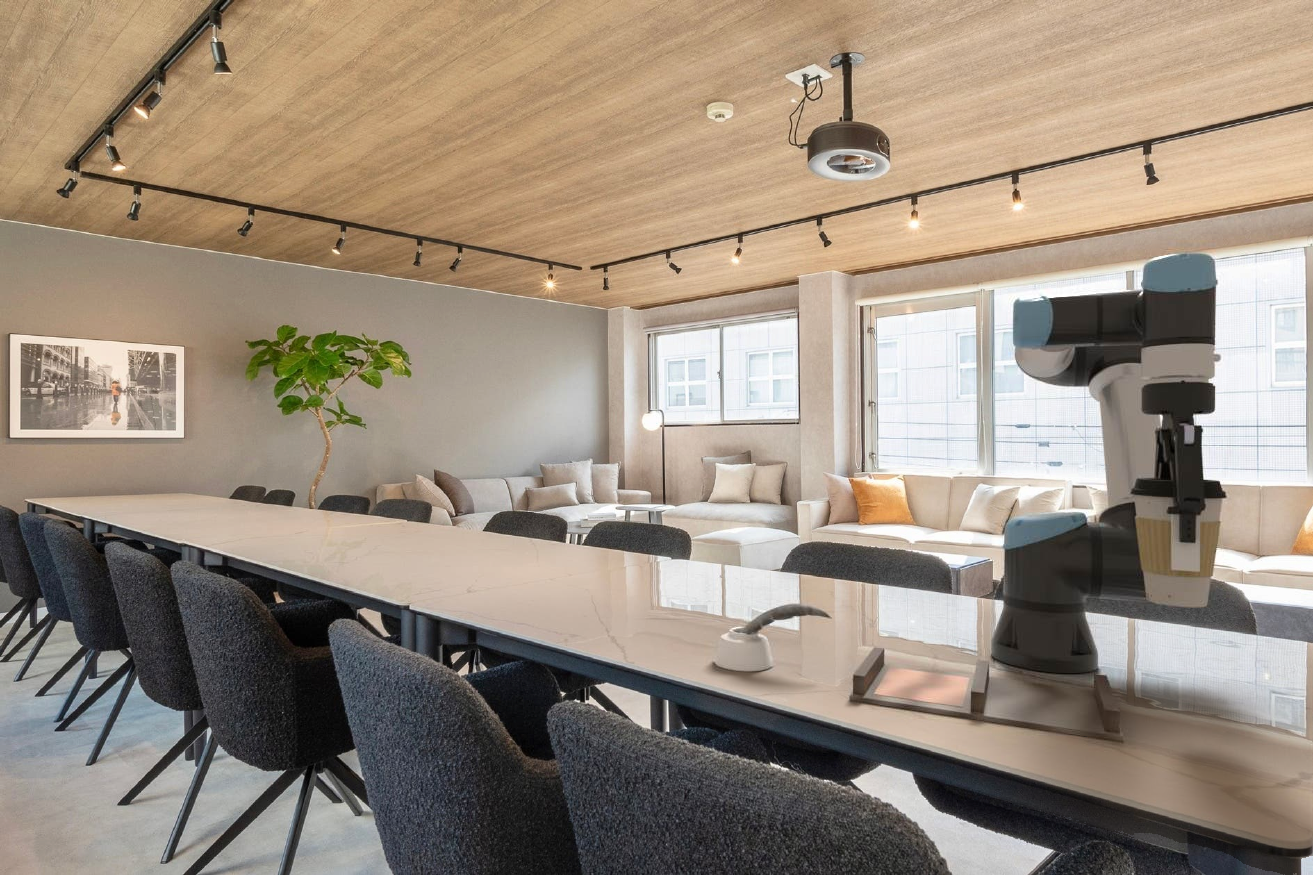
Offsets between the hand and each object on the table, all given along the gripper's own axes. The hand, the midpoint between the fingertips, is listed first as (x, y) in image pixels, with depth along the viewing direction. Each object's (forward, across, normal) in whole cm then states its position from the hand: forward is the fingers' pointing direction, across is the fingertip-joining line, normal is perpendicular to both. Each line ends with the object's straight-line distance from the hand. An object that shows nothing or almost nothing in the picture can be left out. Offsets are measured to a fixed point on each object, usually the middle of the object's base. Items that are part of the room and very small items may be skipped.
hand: (1176, 564), depth 95 cm
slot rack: (+19, -1, +22) cm, 29 cm away
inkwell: (+20, +1, +51) cm, 55 cm away
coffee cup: (+5, 0, 0) cm, 5 cm away
